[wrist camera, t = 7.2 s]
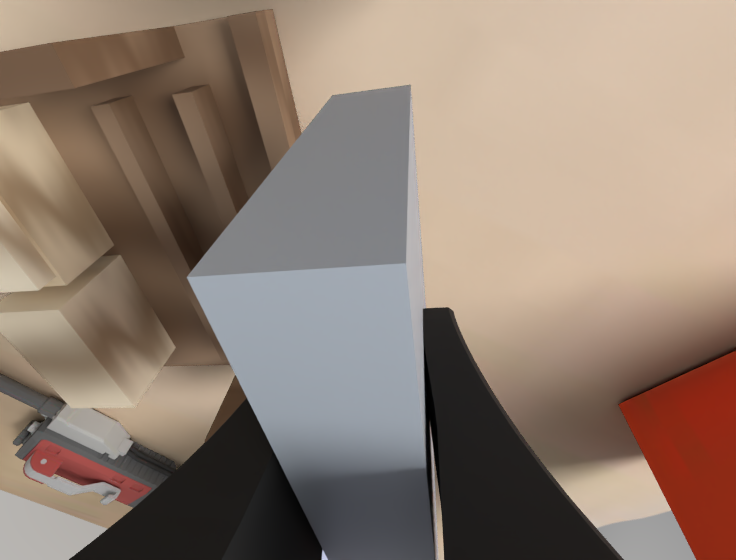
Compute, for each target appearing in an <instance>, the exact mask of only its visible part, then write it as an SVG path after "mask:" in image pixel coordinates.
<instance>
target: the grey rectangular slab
mask: <svg viewBox="0 0 736 560" xmlns="http://www.w3.org/2000/svg"><path fill="white" fill-rule="evenodd" d="M187 279H188V281H189V283H190V285H191V287H192V289H193V291H194V293H195V295H196V297H197V299H198V301H199V303H200V305H201V307H202V309H203V311H204V313H205V315H206V317H207V319H208V321H209V323H210V325H211V327H212V329H213V331H214V333H215V335H216V337H217V339H218V341H219V343H220V345H221V347H222V349H223V351H224V353H225V355H226V357H227V359H228V361H229V363H230V365H231V367H232V369H233V371H234V373H235V375H236V377H237V379H238V381H239V383H240V385H241V387H242V389H243V391H244V393H245V395H246V397H247V399H248V401H249V403H250V405H251V407H252V409H253V411H254V413H255V415H256V417H257V419H258V421H259V423H260V425H261V427H262V429H263V431H264V433H265V435H266V437H267V439H268V441H269V443H270V445H271V447H272V449H273V451H274V453H275V455H276V457H277V459H278V461H279V463H280V465H281V467H282V469H283V471H284V473H285V475H286V477H287V479H288V481H289V483H290V485H291V487H292V489H293V491H294V493H295V495H296V497H297V499H298V501H299V503H300V505H301V507H302V509H303V511H304V513H305V515H306V517H307V519H308V521H309V523H310V525H311V527H312V529H313V531H314V533H315V535H316V537H317V539H318V541H319V543H320V545H321V547H322V549H323V551H324V553H325V555H326V557H327V559H328V560H438V540H437V518H436V495H435V473H434V451H433V442H432V435H431V427H430V419H429V406H428V394H427V381H426V368H425V355H424V342H423V309H424V308H426V303H425V288H424V274H423V259H422V244H421V229H420V215H419V200H418V185H417V171H416V156H415V141H414V127H413V112H412V97H411V85H405V86H398V87H391V88H383V89H376V90H368V91H361V92H353V93H346V94H339V95H332V96H331V98H330V99H329V100H328V101H327V103H326V104H325V105H324V106H323V108H322V109H321V110H320V111H319V113H318V114H317V115H316V116H315V118H314V119H313V120H312V121H311V123H310V124H309V125H308V126H307V128H306V129H305V130H304V131H303V133H302V134H301V135H300V136H299V138H298V139H297V140H296V141H295V143H294V144H293V145H292V146H291V148H290V149H289V150H288V151H287V153H286V154H285V155H284V156H283V158H282V159H281V160H280V161H279V163H278V164H277V165H276V166H275V168H274V169H273V170H272V171H271V173H270V174H269V175H268V176H267V178H266V179H265V180H264V181H263V183H262V184H261V185H260V186H259V188H258V189H257V190H256V191H255V193H254V194H253V195H252V196H251V198H250V199H249V200H248V201H247V203H246V204H245V205H244V206H243V208H242V209H241V210H240V211H239V213H238V214H237V215H236V216H235V218H234V219H233V220H232V221H231V222H230V224H229V225H228V226H227V227H226V229H225V230H224V231H223V232H222V234H221V235H220V236H219V237H218V239H217V240H216V241H215V242H214V244H213V245H212V246H211V247H210V249H209V250H208V251H207V252H206V254H205V255H204V256H203V257H202V259H201V260H200V261H199V262H198V264H197V265H196V266H195V267H194V269H193V270H192V271H191V272H190V274H189V275H188V276H187Z"/></svg>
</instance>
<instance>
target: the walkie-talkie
mask: <svg viewBox="0 0 736 560" xmlns="http://www.w3.org/2000/svg"><path fill="white" fill-rule="evenodd" d="M0 392H2V393H4V394H6V395H9V396H11V397H13V398H15V399H17V400H19V401H21V402H23V403H25V404H27V405H29V406H31V407H33V408H35V409H37V410H38V412H39V413H41V415H42V416H44V417H45V418H44V419H45V421H44V422H41V423H39V422H37V421H31V422H30V423H29V424H28V425H27V427H26V428H25V429H24V430H23V431H22V432H21V433H20V434H19V436H18V437H17V438H16V439H15V440H14V441H13V444H14V445H16V446H18V445H20V444H21V443H22V444H23V446H22V447H21V448H20V449H19V451H18V452H17V453H16V454H15V456H17V457H18V458H20V459H22V460H24V461H26V463H25V464H24V467H23V472H24V474H25V476H26V477H28V478H29V479H32V480H34V481H36V482H39V483H41V484H44V483H45V484H47V485H48V487H51V488H53V489H55V490H58V491H60V492H63V493H65V494H67V495H74V494H80V493H85V492H90V491H94V492H96V493H98V494H101V495H103V496H105V498H103V499H102V500H101V501H100V503H102V504H103V505H107V504H108V503H110V502H111V501H113V500H117V501H119V502H121V503H124V504H126V505H128V506H131V507H133V508H134V507H135V506H137V505H138V504H139V503H140V502H141V501H142V500H143V499H145V498H146V497H147V496H148V495H149V494H150V493H151V492H152V491H154V490H155V489H156V488H157V487H158V486H159V485H160V484H162V483H163V482H164V481H165V480H166V479H167V478H168V477H169V476H171V475H172V474H173V473H174V472H175V471H176V467H177V466H176V465H175V463H174V461H171V460H169V459H168V458H165V457H164V456H161V455H159V454H158V453H155V452H153V451H152V450H149V449H148V448H145V447H143V446H142V445H139V444H137V443H136V442H133V441H131V440H130V437H131V436H130V435H129V434H128V432H127V431H126V430H125V429H124V428H123V426H122V425H121V424H120V423H119V422H118V421H116V420H114V419H112V418H110V417H108V416H106V415H104V414H102V413H100V412H98V411H96V410H94V409H92V408H71V407H70V406H69V405H68V404H66V403H63V402H61V401H59V400H57V399H55V398H53V397H46V396H44V395H42V394H40V393H38V392H36V391H34V390H32V389H30V388H28V387H27V386H25V385H23V384H21V383H19V382H17V381H15V380H13V379H11V378H9V377H7V376H5V375H3V374H1V373H0ZM54 474H57V475H59V476H61V477H64V478H66V479H68V480H71V481H73V482H75V483H78V484H80V485H82V486H79V485H77V484H74V483H72V482H70V481H67V480H65V479H63V478H60V477H54V476H53V475H54Z"/></svg>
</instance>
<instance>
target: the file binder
mask: <svg viewBox="0 0 736 560" xmlns="http://www.w3.org/2000/svg"><path fill="white" fill-rule="evenodd" d="M618 405H619V407H620V409H621V411H622V413H623V415H624V417H625V419H626V421H627V423H628V425H629V427H630V429H631V431H632V433H633V435H634V437H635V439H636V441H637V443H638V444H639V446H640V448H641V450H642V452H643V454H644V456H645V458H646V460H647V462H648V464H649V466H650V468H651V470H652V472H653V474H654V476H655V478H656V480H657V482H658V484H659V486H660V488H661V490H662V492H663V494H664V496H665V498H666V500H667V502H668V504H669V506H670V508H671V510H672V512H673V514H674V516H675V518H676V520H677V522H678V524H679V526H680V528H681V530H682V532H683V534H684V536H685V538H686V540H687V542H688V544H689V546H690V548H691V550H692V552H693V554H694V556H695V558H696V560H736V351H734V352H732V353H729V354H727V355H725V356H723V357H721V358H718V359H716V360H714V361H712V362H710V363H707V364H705V365H703V366H701V367H699V368H697V369H694V370H692V371H690V372H688V373H686V374H683V375H681V376H679V377H677V378H675V379H673V380H670V381H668V382H666V383H664V384H662V385H659V386H657V387H655V388H653V389H651V390H649V391H646V392H644V393H642V394H640V395H638V396H635V397H633V398H631V399H629V400H627V401H625V402H622V403H620V404H618Z"/></svg>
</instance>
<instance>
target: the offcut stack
mask: <svg viewBox="0 0 736 560" xmlns="http://www.w3.org/2000/svg"><path fill="white" fill-rule="evenodd" d="M113 246H114V244H113V242H112V240H111V239H110V237H109V235H108V234H107V232H106V230H105V229H104V227H103V225H102V224H101V222H100V220H99V219H98V217H97V215H96V214H95V212H94V210H93V209H92V207H91V205H90V204H89V202H88V200H87V199H86V197H85V195H84V194H83V192H82V190H81V189H80V187H79V185H78V184H77V182H76V180H75V179H74V177H73V175H72V174H71V172H70V170H69V169H68V167H67V165H66V164H65V162H64V160H63V159H62V157H61V155H60V154H59V152H58V150H57V149H56V147H55V145H54V144H53V142H52V140H51V139H50V137H49V135H48V134H47V132H46V130H45V129H44V127H43V125H42V124H41V122H40V120H39V119H38V117H37V115H36V113H35V112H34V110H33V108H32V107H31V105H30V103H29V102H28V103H22V104H15V105H9V106H2V107H0V293H5V292H12V293H10V294H9V295H8V296H6V297H5V298H4V299H2V300H1V301H0V333H1V334H2V335H3V336H4V337H5V338H6V339H7V340H8V341H9V342H10V343H11V344H12V345H13V346H14V347H15V349H16V350H17V351H18V352H19V353H20V354H21V355H22V356H23V357H24V358H25V359H26V360H27V361H28V362H29V363H30V365H31V366H32V367H33V368H34V369H35V370H36V371H37V372H38V373H39V374H40V375H41V376H42V377H43V378H44V379H45V381H46V382H47V383H48V384H49V385H50V386H51V387H52V388H53V389H54V390H55V391H56V392H57V393H58V394H59V395H60V397H61V398H62V399H63V400H64V401H65V402H66V403H67V404H68V405H69V406H70V407H71V408H136V406H137V405H138V403H139V402H140V400H141V399H142V397H143V396H144V394H145V393H146V391H147V390H148V388H149V387H150V385H151V384H152V382H153V381H154V379H155V378H156V376H157V375H158V373H159V372H160V370H161V369H162V367H163V366H164V364H165V363H166V361H167V360H168V358H169V357H170V355H171V354H172V352H173V351H174V349H175V348H176V347H175V345H174V344H173V342H172V340H171V339H170V337H169V335H168V334H167V332H166V330H165V329H164V327H163V325H162V324H161V322H160V320H159V319H158V317H157V315H156V314H155V312H154V310H153V309H152V307H151V305H150V304H149V302H148V300H147V299H146V297H145V295H144V294H143V292H142V290H141V289H140V287H139V285H138V284H137V282H136V280H135V279H134V277H133V275H132V274H131V272H130V270H129V269H128V267H127V265H126V264H125V262H124V260H123V259H122V257H121V255H111V256H102V255H103V254H105V253H106V252H107V251H108V250H109V249H111V248H112V247H113Z"/></svg>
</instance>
